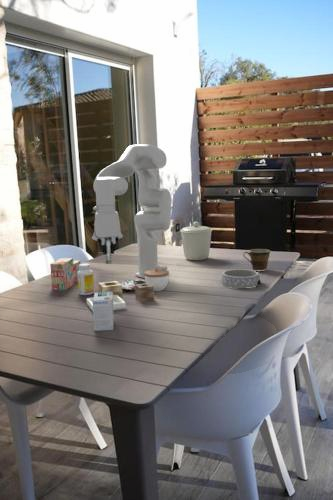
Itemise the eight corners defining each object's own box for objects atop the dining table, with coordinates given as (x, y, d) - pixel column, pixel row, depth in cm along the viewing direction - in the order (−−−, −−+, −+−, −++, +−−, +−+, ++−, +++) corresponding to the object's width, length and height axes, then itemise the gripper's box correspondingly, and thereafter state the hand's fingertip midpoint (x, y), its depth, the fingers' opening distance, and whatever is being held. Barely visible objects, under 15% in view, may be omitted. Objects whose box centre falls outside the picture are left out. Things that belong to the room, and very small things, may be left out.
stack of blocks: (69, 278, 248) (68, 254, 246) (81, 279, 247) (80, 254, 245) (51, 290, 228) (49, 263, 225) (65, 290, 226) (63, 263, 224)
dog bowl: (264, 281, 233) (264, 269, 232) (253, 291, 216) (253, 278, 215) (228, 278, 240) (228, 267, 239) (215, 287, 224) (215, 275, 223)
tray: (117, 300, 207) (117, 294, 207) (125, 308, 196) (125, 302, 195) (86, 304, 203) (86, 298, 203) (93, 313, 192) (93, 306, 191)
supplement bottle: (96, 292, 222) (95, 263, 219) (89, 296, 215) (88, 266, 213) (83, 291, 224) (81, 262, 222) (75, 295, 218) (73, 265, 215)
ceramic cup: (268, 268, 257) (268, 248, 255) (270, 272, 247) (270, 252, 246) (242, 268, 259) (242, 248, 257) (243, 272, 249) (243, 252, 247)
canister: (191, 254, 298) (191, 219, 294) (218, 257, 288) (218, 220, 284) (174, 260, 284) (173, 222, 280) (201, 263, 273) (201, 224, 269)
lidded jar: (151, 293, 216) (150, 272, 215) (141, 288, 226) (140, 267, 224) (173, 289, 221) (173, 268, 219) (162, 284, 230) (161, 264, 229)
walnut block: (149, 296, 212) (148, 282, 211) (154, 300, 206) (153, 286, 205) (135, 298, 210) (135, 284, 209) (140, 302, 204) (139, 287, 203)
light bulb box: (95, 321, 182) (93, 292, 180) (114, 320, 183) (112, 291, 181) (93, 331, 172) (92, 300, 170) (113, 330, 172) (112, 299, 170)
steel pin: (112, 263, 209) (111, 234, 207) (106, 264, 208) (105, 235, 206) (111, 262, 211) (109, 233, 209) (105, 263, 210) (103, 234, 208)
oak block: (117, 294, 217) (116, 280, 216) (122, 299, 210) (121, 285, 209) (99, 296, 215) (98, 282, 213) (103, 301, 207) (102, 287, 206)
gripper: (88, 211, 199) (90, 257, 203) (127, 208, 205) (129, 253, 208) (84, 209, 206) (87, 254, 210) (122, 207, 212) (124, 250, 215)
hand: (108, 253), depth 209 cm, fingers closed on steel pin, 2 cm apart
